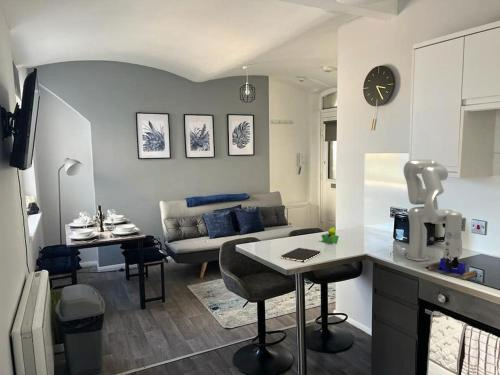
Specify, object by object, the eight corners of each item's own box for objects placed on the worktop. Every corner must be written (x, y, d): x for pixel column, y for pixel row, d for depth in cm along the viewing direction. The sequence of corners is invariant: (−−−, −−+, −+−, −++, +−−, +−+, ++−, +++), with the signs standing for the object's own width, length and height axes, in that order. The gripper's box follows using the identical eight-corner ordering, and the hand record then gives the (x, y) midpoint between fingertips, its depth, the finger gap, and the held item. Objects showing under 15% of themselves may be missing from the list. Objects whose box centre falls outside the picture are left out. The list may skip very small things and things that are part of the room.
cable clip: (438, 269, 207) (438, 259, 206) (443, 268, 209) (443, 257, 209) (460, 275, 197) (460, 264, 196) (465, 274, 199) (465, 262, 199)
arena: (428, 270, 208) (428, 264, 208) (439, 266, 214) (440, 261, 214) (465, 280, 191) (465, 274, 191) (476, 276, 197) (476, 270, 197)
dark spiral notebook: (280, 259, 236) (280, 255, 235) (298, 250, 254) (298, 247, 254) (303, 263, 226) (303, 259, 226) (320, 254, 245) (320, 251, 245)
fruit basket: (320, 241, 276) (320, 226, 275) (329, 240, 281) (329, 225, 280) (331, 245, 267) (332, 229, 266) (340, 243, 272) (340, 227, 271)
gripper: (450, 238, 193) (449, 273, 195) (469, 234, 202) (467, 267, 204) (436, 236, 199) (435, 269, 201) (455, 231, 209) (453, 263, 210)
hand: (451, 268), depth 203 cm, fingers open, 5 cm apart
